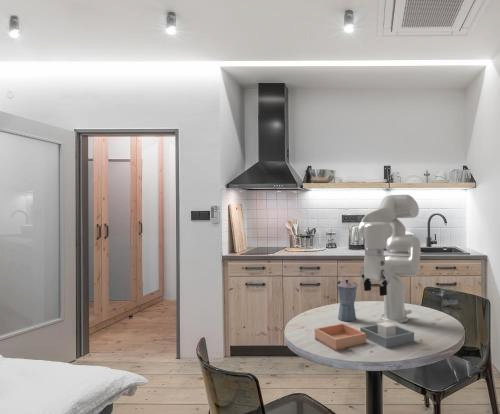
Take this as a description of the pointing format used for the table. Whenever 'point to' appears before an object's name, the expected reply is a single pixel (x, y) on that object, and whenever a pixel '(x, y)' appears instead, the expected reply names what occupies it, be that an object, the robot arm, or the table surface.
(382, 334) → the stone block
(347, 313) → the moka pot
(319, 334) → the bin
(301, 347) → the table surface
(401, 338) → the bin
